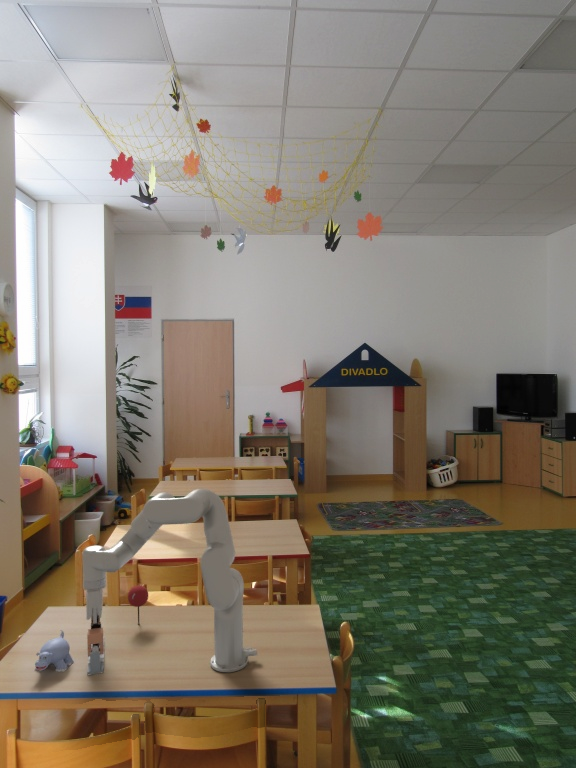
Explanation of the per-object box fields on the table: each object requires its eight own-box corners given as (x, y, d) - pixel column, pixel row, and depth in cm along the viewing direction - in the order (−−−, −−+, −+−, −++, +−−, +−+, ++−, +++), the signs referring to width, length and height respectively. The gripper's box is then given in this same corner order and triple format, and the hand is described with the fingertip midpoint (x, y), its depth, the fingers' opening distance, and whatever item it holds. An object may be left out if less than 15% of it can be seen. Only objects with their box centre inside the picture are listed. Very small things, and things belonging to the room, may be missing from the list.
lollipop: (126, 622, 229) (126, 584, 229) (146, 618, 233) (145, 581, 232) (130, 630, 222) (129, 591, 222) (150, 626, 226) (149, 588, 225)
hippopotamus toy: (24, 679, 189) (23, 650, 189) (49, 655, 204) (48, 629, 204) (55, 681, 188) (54, 652, 187) (78, 657, 203) (77, 630, 202)
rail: (104, 640, 215) (104, 622, 215) (103, 672, 193) (102, 652, 192) (90, 642, 213) (89, 624, 213) (87, 675, 191) (86, 654, 191)
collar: (103, 648, 203) (103, 627, 202) (103, 654, 199) (102, 632, 198) (88, 650, 201) (87, 629, 201) (87, 656, 197) (87, 634, 197)
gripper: (84, 576, 209) (85, 626, 210) (81, 592, 195) (83, 646, 196) (106, 573, 211) (107, 624, 212) (105, 589, 197) (106, 643, 198)
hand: (96, 634), depth 204 cm, fingers closed
